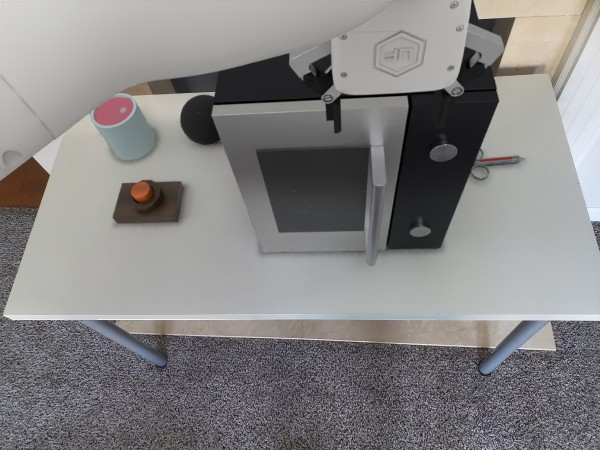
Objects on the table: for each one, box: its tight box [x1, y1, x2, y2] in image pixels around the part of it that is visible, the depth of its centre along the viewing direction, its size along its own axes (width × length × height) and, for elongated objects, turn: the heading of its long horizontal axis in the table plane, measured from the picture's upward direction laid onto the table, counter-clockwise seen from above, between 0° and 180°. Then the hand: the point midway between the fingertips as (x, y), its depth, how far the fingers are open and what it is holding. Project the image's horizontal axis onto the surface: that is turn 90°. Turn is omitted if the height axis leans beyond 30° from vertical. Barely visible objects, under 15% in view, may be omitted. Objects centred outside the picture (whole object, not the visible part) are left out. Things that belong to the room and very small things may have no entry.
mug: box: [88, 92, 157, 161], centre depth 92 cm, size 14×9×10 cm
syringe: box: [470, 148, 528, 181], centre depth 84 cm, size 8×18×2 cm, turn 92°
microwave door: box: [212, 96, 409, 267], centre depth 62 cm, size 7×22×35 cm, turn 88°
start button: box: [131, 181, 153, 203], centre depth 83 cm, size 4×4×2 cm
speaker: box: [179, 94, 221, 146], centre depth 90 cm, size 10×10×10 cm
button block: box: [112, 179, 185, 224], centre depth 85 cm, size 8×12×4 cm, turn 88°
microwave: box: [213, 0, 500, 250], centre depth 70 cm, size 30×31×35 cm
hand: (386, 119), depth 43 cm, fingers open, 9 cm apart
